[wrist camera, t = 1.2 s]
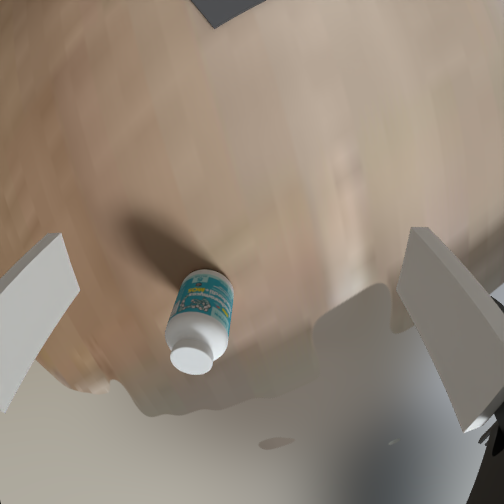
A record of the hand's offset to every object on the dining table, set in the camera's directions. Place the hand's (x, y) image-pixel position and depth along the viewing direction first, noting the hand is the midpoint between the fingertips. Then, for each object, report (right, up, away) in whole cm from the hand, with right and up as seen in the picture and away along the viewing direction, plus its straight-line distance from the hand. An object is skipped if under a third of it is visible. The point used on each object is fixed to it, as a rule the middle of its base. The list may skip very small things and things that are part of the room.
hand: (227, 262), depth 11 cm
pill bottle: (-5, -5, +33) cm, 33 cm away
